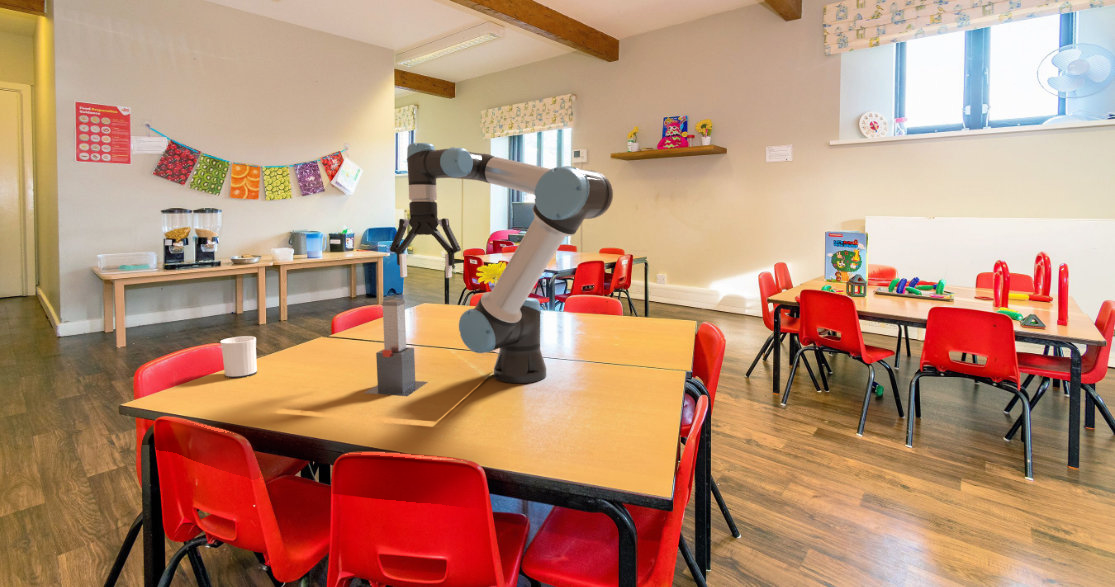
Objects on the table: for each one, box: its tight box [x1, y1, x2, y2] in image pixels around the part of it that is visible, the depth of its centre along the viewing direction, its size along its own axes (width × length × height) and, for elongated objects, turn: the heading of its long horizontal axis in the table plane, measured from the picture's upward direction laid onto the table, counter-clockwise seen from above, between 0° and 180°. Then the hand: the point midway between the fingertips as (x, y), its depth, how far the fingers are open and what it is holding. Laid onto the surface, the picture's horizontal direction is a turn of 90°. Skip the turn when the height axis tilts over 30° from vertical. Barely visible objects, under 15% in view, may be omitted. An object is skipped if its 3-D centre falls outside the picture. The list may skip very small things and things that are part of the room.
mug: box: [219, 335, 258, 379], centre depth 157 cm, size 11×9×10 cm
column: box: [381, 299, 407, 353], centre depth 141 cm, size 4×4×23 cm
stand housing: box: [364, 346, 429, 397], centre depth 142 cm, size 12×12×12 cm
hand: (426, 277), depth 154 cm, fingers open, 13 cm apart
